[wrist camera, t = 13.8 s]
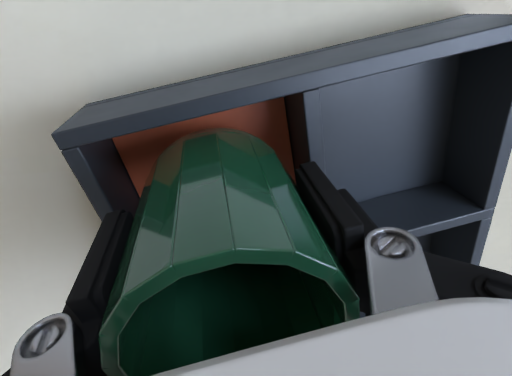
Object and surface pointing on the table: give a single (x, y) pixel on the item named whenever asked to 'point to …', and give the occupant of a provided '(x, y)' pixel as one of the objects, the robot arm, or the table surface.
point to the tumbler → (219, 260)
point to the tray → (339, 126)
